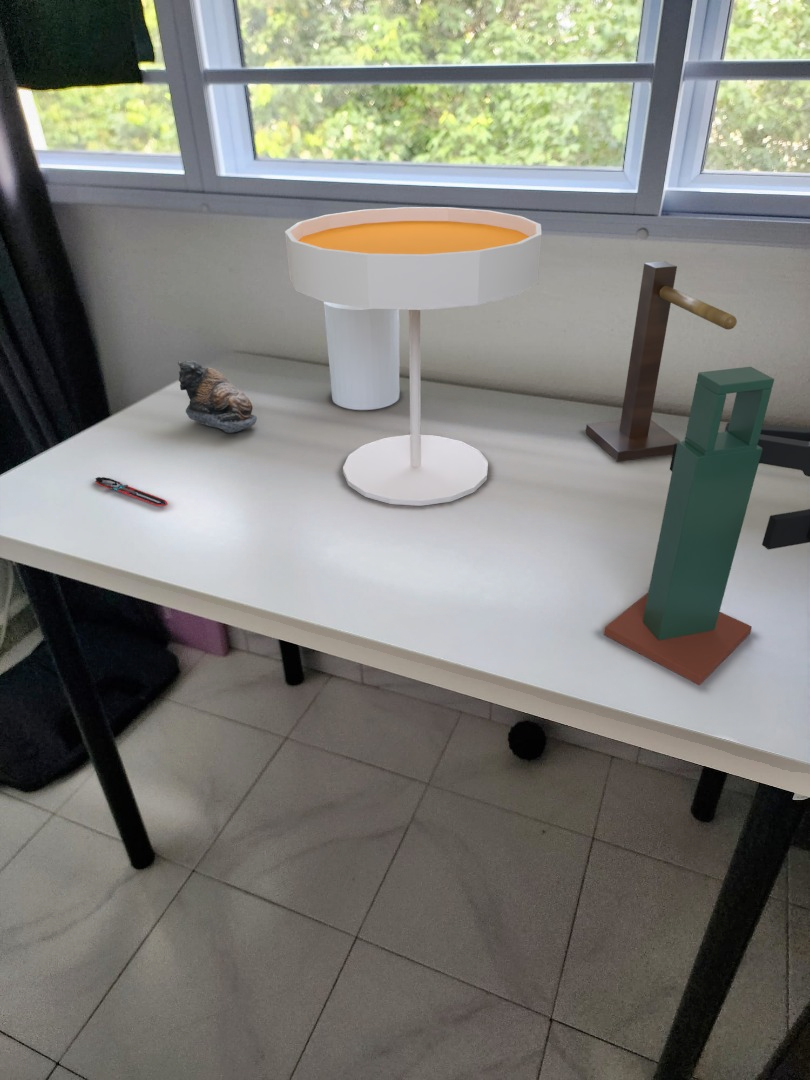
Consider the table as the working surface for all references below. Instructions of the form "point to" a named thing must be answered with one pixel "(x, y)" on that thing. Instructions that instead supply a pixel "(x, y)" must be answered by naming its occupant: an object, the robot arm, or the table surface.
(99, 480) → the pen
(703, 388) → the green block with loop
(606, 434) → the hook stand
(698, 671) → the cork pad
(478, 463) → the white stemmed bowl
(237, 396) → the bison figurine
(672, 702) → the table surface
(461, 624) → the table surface
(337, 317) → the bottle
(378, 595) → the table surface
